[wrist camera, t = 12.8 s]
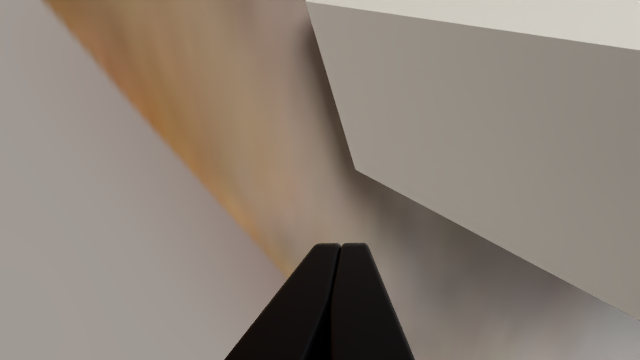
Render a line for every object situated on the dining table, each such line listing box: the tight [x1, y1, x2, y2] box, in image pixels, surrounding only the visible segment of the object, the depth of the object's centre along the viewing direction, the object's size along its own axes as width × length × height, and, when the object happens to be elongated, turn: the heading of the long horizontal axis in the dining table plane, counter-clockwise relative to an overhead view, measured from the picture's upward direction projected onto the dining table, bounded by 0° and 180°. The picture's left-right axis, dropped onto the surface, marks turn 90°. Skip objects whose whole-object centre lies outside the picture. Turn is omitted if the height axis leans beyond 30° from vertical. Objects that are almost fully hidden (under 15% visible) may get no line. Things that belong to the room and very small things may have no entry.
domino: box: [305, 0, 640, 321], centre depth 10 cm, size 2×5×10 cm
